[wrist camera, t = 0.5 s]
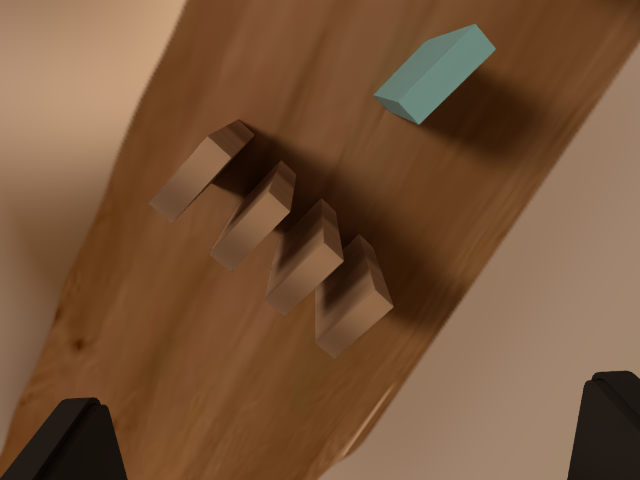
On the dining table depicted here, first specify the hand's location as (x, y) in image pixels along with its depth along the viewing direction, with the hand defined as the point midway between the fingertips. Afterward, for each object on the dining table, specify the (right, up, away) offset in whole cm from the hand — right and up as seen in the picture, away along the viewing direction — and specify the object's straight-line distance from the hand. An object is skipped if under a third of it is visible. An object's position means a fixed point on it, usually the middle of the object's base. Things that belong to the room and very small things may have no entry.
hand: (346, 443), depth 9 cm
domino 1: (-8, +11, +24) cm, 28 cm away
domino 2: (-5, +8, +25) cm, 27 cm away
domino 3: (-2, +5, +27) cm, 27 cm away
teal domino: (+6, +16, +23) cm, 28 cm away
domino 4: (+1, +2, +28) cm, 28 cm away
